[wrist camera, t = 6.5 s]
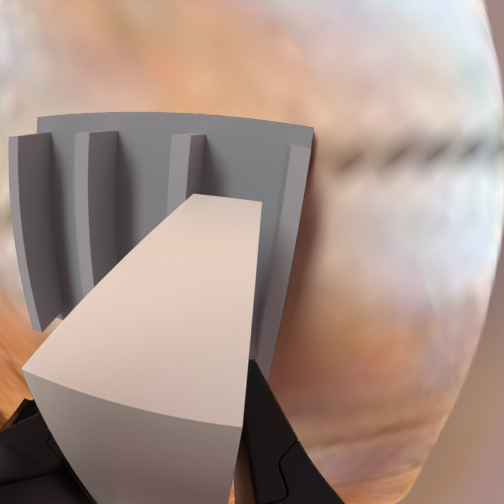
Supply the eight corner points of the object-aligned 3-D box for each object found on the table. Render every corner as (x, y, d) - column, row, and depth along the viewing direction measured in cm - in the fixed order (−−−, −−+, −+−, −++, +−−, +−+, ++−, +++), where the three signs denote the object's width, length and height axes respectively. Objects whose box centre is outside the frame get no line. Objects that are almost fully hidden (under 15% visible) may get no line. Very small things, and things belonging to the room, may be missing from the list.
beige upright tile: (238, 375, 14) (215, 564, 5) (187, 367, 14) (134, 547, 5) (261, 201, 11) (241, 426, 3) (193, 193, 11) (21, 369, 3)
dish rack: (272, 351, 20) (272, 392, 17) (59, 311, 20) (32, 339, 17) (311, 127, 15) (324, 126, 12) (45, 116, 15) (5, 119, 12)
